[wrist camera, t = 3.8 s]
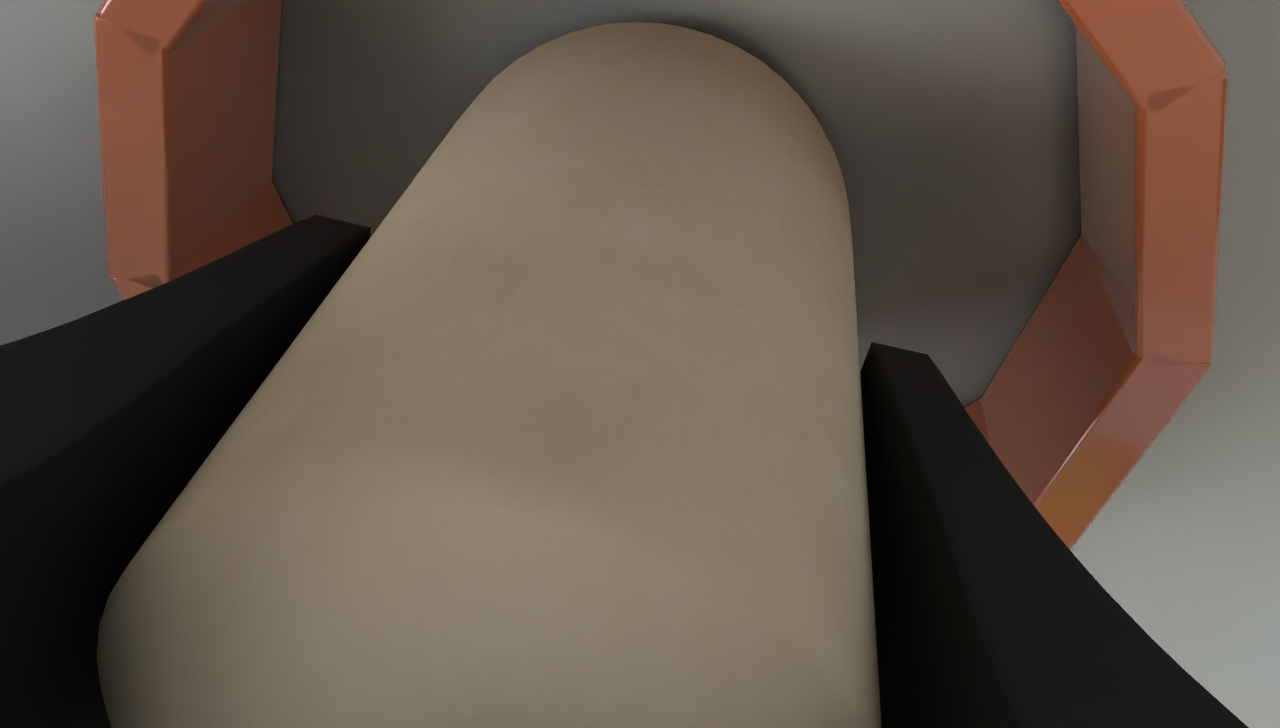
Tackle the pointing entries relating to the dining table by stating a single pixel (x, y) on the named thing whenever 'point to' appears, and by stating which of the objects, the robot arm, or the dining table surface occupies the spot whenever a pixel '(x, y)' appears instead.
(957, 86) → the dining table surface
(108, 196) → the orange faceted bracelet
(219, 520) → the candle
